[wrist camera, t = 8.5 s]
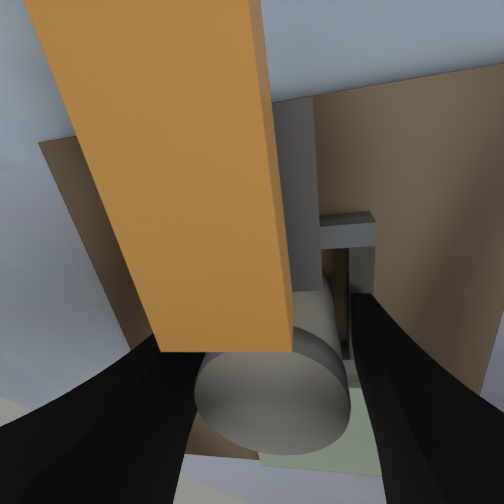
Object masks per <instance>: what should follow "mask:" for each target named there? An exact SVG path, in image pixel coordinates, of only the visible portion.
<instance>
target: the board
mask: <svg viewBox="0 0 504 504" xmlns="http://www.w3.org/2000/svg"><path fill="white" fill-rule="evenodd" d="M272 111H273V121H274V130H275V139H276V148H277V157H278V166H279V175H280V184H281V193H282V203H283V212H284V221H285V230H286V239H287V248H288V257H289V266H290V275H291V285H292V292H300V291H323V280H322V270H323V271H324V272H325V274H326V275H327V277H328V279H329V281H330V283H331V286H332V291H333V298H334V305H335V312H336V319H337V326H338V332H339V339H340V346H341V353H342V360H343V364H344V367H345V370H346V374H347V380H348V382H357V383H360V382H359V378H358V374H357V370H356V366H355V360H354V354H353V347H352V340H351V294H355V293H371V294H372V295H373V296H374V297H375V298H376V300H377V301H378V302H379V303H380V305H381V306H382V307H383V308H384V309H385V310H386V312H387V313H388V314H389V315H390V316H391V317H392V318H393V319H394V321H395V322H396V323H397V324H398V325H399V326H400V327H401V328H402V329H403V330H404V331H405V332H406V333H407V334H408V335H409V336H410V337H411V338H412V339H413V340H414V341H415V342H416V343H417V344H418V345H419V346H420V347H421V348H422V349H423V350H424V351H425V352H426V353H428V354H429V355H430V356H431V357H432V358H433V359H434V360H435V361H436V362H438V363H439V364H440V365H441V366H442V367H443V368H444V369H446V370H447V371H448V372H449V373H450V374H452V375H453V376H454V377H455V378H457V379H458V380H459V381H460V382H462V383H463V384H464V385H465V386H467V387H468V388H469V389H471V390H472V391H473V392H475V393H476V394H477V395H480V391H481V388H482V384H483V381H484V377H485V374H486V370H487V366H488V363H489V359H490V356H491V352H492V349H493V345H494V342H495V338H496V335H497V331H498V327H499V324H500V320H501V317H502V313H503V310H504V63H502V64H497V65H491V66H485V67H479V68H473V69H467V70H461V71H455V72H450V73H444V74H438V75H432V76H426V77H420V78H414V79H408V80H403V81H397V82H391V83H385V84H379V85H373V86H367V87H361V88H356V89H350V90H344V91H338V92H332V93H326V94H320V95H314V96H309V97H303V98H297V99H291V100H285V101H279V102H273V103H272ZM38 144H39V146H40V148H41V151H42V153H43V155H44V157H45V159H46V162H47V164H48V166H49V168H50V171H51V173H52V175H53V177H54V180H55V182H56V184H57V186H58V188H59V191H60V193H61V195H62V197H63V200H64V202H65V204H66V206H67V208H68V211H69V213H70V215H71V217H72V220H73V222H74V224H75V226H76V229H77V231H78V233H79V235H80V237H81V240H82V242H83V244H84V246H85V249H86V251H87V253H88V255H89V257H90V260H91V262H92V264H93V266H94V269H95V271H96V273H97V275H98V278H99V280H100V282H101V284H102V286H103V289H104V291H105V293H106V295H107V298H108V300H109V302H110V304H111V306H112V309H113V311H114V313H115V315H116V318H117V320H118V322H119V324H120V327H121V329H122V331H123V333H124V335H125V338H126V340H127V342H128V344H129V347H130V349H131V350H133V349H134V348H135V347H136V346H138V345H139V344H140V343H141V342H143V341H144V340H145V339H146V338H148V337H149V336H150V335H151V334H153V331H152V328H151V325H150V323H149V320H148V318H147V315H146V313H145V310H144V307H143V305H142V302H141V300H140V297H139V295H138V292H137V289H136V287H135V284H134V282H133V279H132V277H131V274H130V272H129V269H128V266H127V264H126V261H125V259H124V256H123V254H122V251H121V248H120V246H119V243H118V241H117V238H116V236H115V233H114V231H113V228H112V225H111V223H110V220H109V218H108V215H107V213H106V210H105V207H104V205H103V202H102V200H101V197H100V195H99V192H98V190H97V187H96V184H95V182H94V179H93V177H92V174H91V172H90V169H89V166H88V164H87V161H86V159H85V156H84V154H83V151H82V149H81V146H80V143H79V141H78V138H77V136H73V137H68V138H62V139H56V140H50V141H44V142H38ZM185 454H193V455H205V456H217V457H229V458H242V459H254V460H260V459H259V455H258V452H257V451H253V450H250V449H247V448H244V447H241V446H239V445H237V444H235V443H233V442H231V441H229V440H227V439H225V438H224V437H222V436H221V435H219V434H218V433H217V432H216V431H214V430H213V429H212V428H211V427H210V426H209V425H208V424H207V423H206V422H205V421H204V419H203V418H202V416H201V415H200V413H199V411H197V414H196V417H195V419H194V422H193V425H192V428H191V432H190V435H189V438H188V442H187V446H186V450H185Z"/></svg>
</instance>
